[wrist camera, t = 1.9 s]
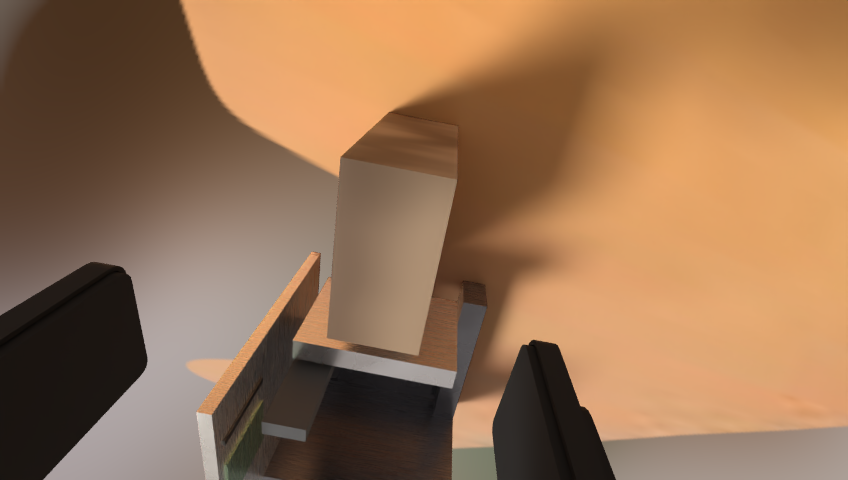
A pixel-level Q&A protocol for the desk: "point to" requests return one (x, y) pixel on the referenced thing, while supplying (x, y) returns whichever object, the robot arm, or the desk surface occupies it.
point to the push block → (391, 231)
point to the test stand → (332, 406)
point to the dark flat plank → (297, 400)
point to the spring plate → (427, 367)
